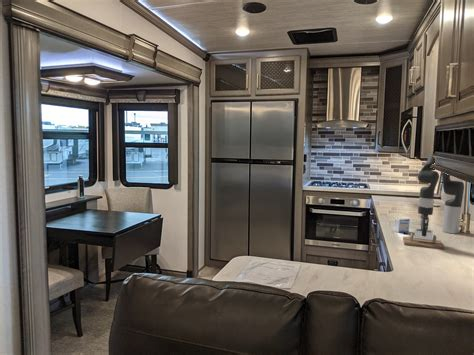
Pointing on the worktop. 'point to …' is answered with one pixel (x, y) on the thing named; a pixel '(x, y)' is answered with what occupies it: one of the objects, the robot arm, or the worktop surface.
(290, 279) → the worktop surface
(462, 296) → the worktop surface
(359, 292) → the worktop surface
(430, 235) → the block
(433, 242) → the pin tray
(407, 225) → the medicine box
